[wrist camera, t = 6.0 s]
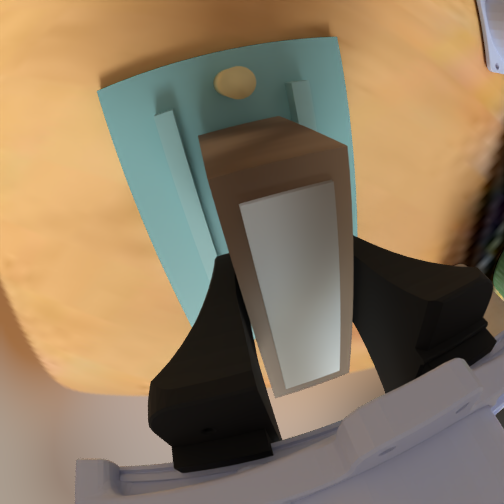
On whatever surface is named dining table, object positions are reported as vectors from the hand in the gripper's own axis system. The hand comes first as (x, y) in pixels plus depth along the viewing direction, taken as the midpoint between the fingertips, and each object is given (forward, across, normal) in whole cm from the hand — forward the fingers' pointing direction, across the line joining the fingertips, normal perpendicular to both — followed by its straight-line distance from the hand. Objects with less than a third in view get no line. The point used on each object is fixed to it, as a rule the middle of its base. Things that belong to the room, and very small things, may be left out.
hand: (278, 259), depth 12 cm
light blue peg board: (+4, 0, 0) cm, 4 cm away
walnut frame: (+3, 0, 0) cm, 3 cm away
